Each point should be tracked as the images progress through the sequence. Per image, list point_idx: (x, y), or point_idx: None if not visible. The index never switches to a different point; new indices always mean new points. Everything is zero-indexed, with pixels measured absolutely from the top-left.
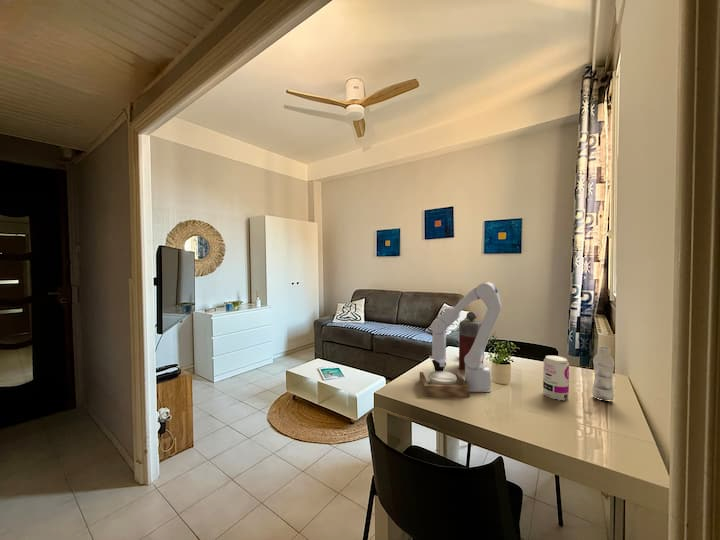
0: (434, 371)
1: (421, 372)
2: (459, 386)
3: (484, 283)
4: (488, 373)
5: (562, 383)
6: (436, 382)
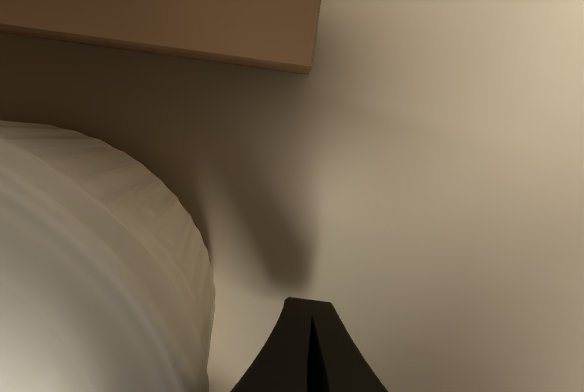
0: (149, 331)
1: (276, 5)
2: None
3: None
4: None
5: None
6: None
